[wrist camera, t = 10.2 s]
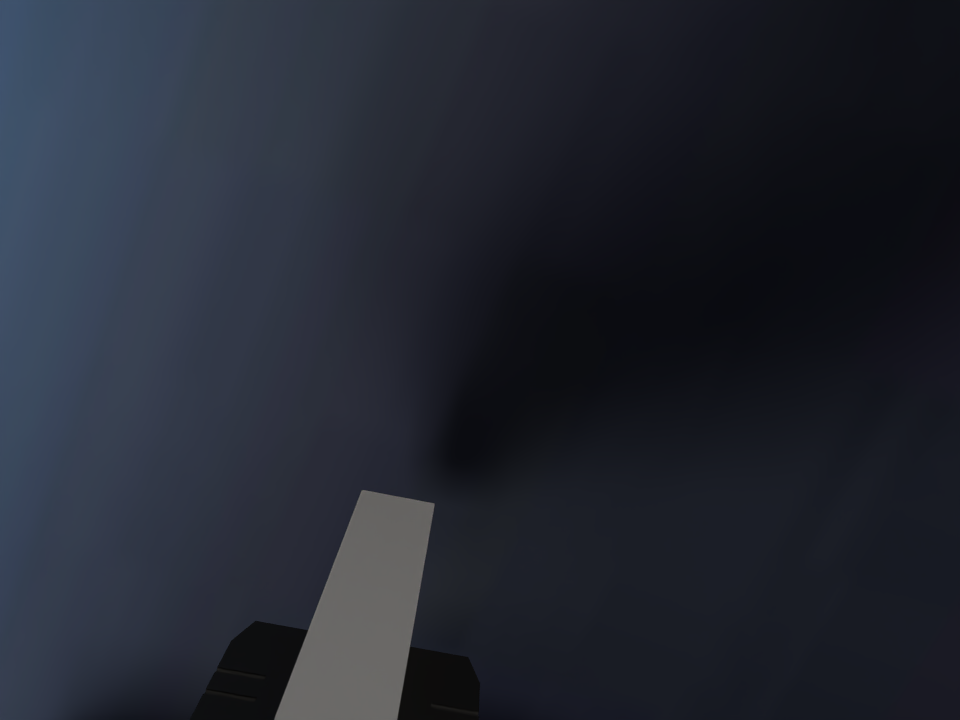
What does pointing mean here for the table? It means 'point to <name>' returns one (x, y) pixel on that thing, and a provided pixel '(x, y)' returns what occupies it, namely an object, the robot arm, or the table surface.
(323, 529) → the table surface
